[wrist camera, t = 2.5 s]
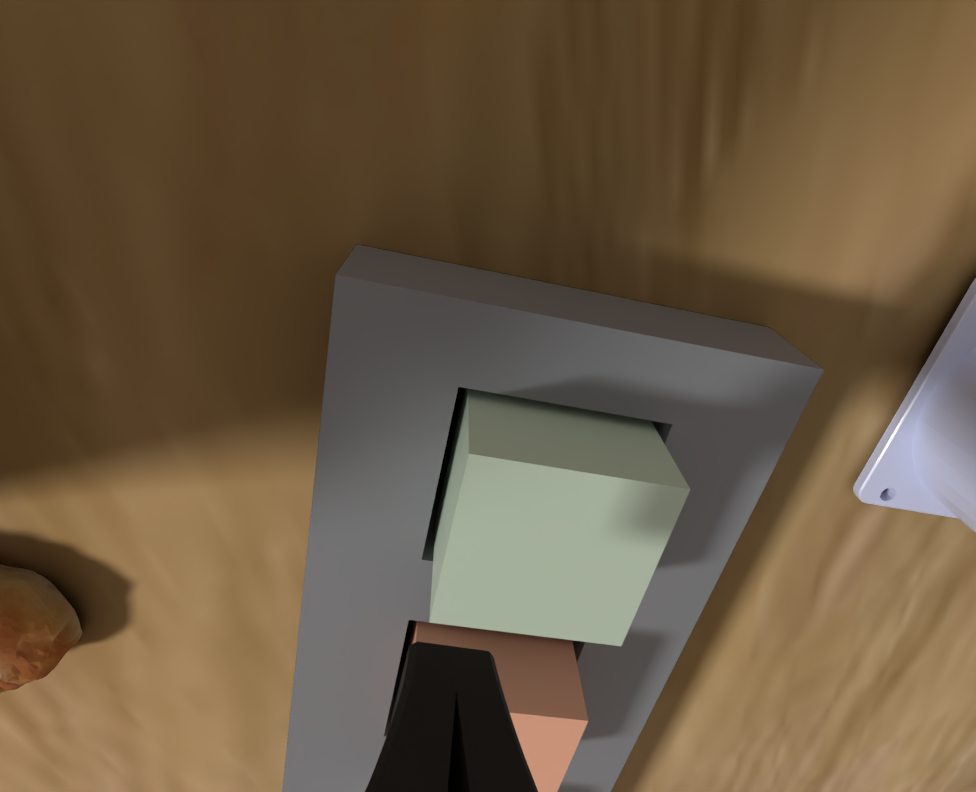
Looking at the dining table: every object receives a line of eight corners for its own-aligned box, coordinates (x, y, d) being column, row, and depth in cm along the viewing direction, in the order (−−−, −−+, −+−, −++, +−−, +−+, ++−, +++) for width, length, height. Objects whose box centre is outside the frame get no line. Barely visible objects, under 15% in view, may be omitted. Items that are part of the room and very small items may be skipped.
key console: (769, 327, 18) (824, 369, 15) (545, 828, 29) (554, 903, 26) (356, 244, 16) (335, 274, 13) (291, 807, 27) (272, 884, 25)
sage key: (642, 405, 17) (690, 489, 13) (591, 542, 19) (621, 646, 15) (467, 374, 16) (469, 453, 13) (435, 519, 18) (429, 622, 15)
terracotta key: (566, 611, 20) (588, 720, 17) (530, 706, 23) (543, 822, 19) (420, 591, 20) (410, 701, 16) (397, 692, 22) (385, 809, 18)
